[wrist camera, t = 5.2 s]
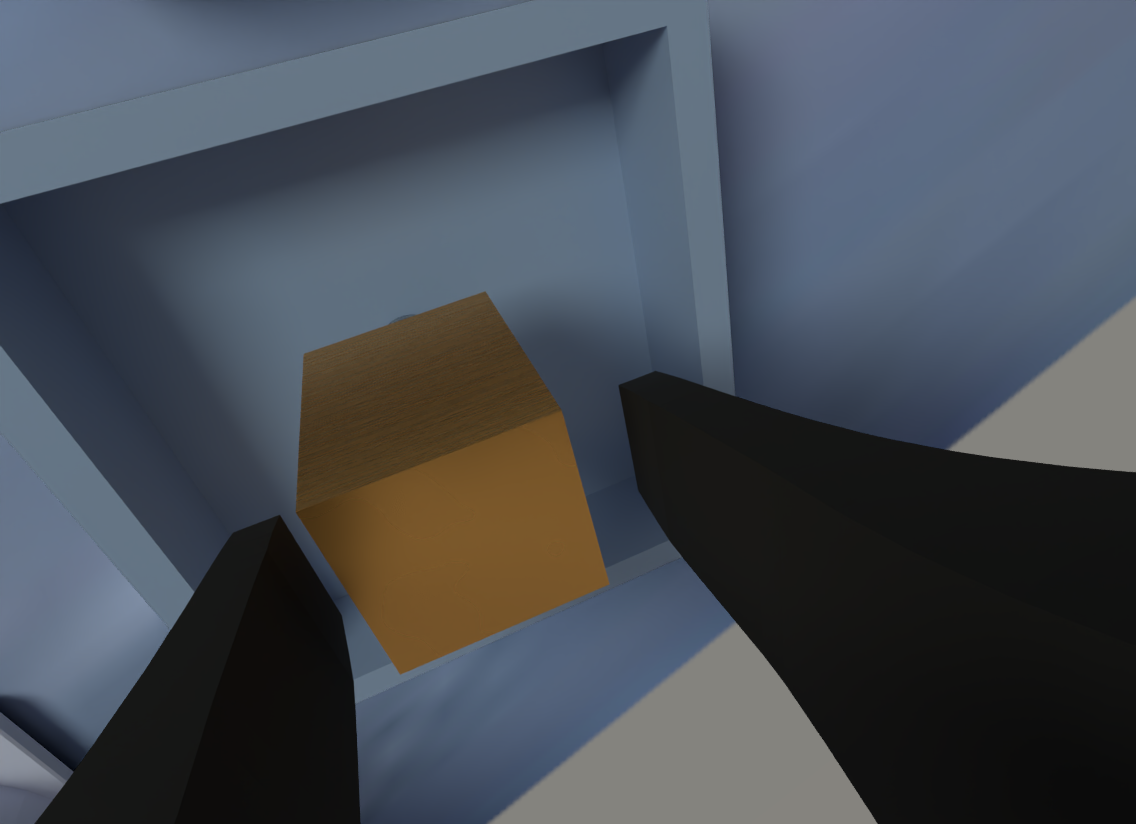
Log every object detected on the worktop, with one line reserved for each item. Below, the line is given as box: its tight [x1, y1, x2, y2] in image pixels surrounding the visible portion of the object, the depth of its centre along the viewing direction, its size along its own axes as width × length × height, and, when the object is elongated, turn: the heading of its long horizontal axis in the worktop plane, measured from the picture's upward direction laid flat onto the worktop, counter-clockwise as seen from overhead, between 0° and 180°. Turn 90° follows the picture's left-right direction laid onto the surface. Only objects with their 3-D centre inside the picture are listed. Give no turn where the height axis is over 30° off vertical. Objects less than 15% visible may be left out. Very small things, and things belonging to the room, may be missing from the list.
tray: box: [0, 0, 735, 704], centre depth 12 cm, size 11×11×3 cm
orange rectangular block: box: [296, 291, 609, 675], centre depth 10 cm, size 3×3×6 cm
